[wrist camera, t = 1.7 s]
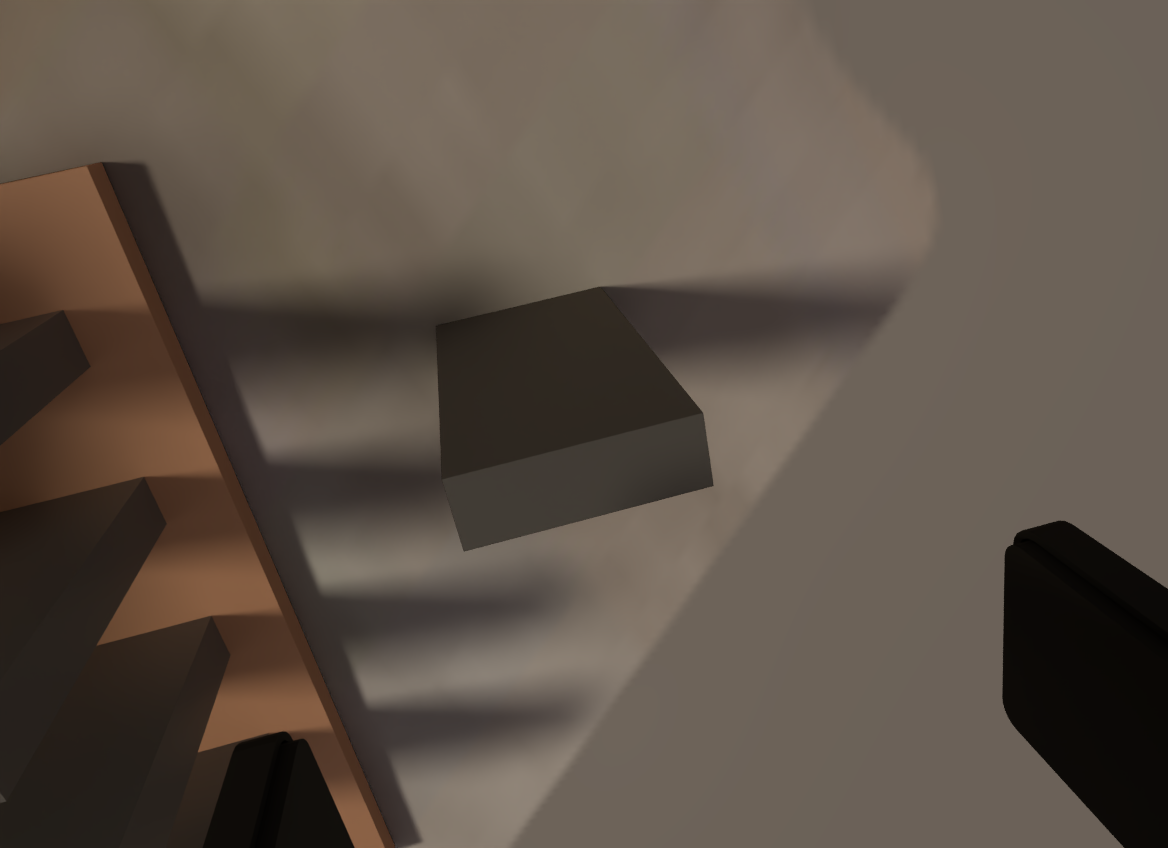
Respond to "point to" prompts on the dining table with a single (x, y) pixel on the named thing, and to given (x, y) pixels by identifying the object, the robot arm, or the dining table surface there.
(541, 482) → the domino
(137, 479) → the domino
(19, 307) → the domino board
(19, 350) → the domino
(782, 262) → the dining table surface
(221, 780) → the domino
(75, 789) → the domino
